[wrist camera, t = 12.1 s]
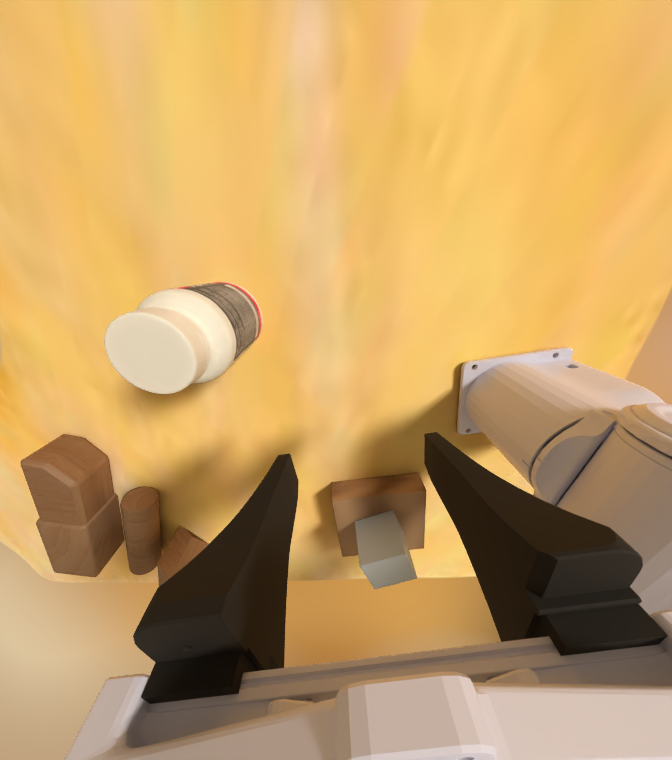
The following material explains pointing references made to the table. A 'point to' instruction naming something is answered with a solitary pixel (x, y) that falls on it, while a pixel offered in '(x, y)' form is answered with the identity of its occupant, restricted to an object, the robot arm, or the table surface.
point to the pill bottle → (183, 336)
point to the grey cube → (383, 550)
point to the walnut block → (380, 506)
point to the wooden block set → (98, 514)
